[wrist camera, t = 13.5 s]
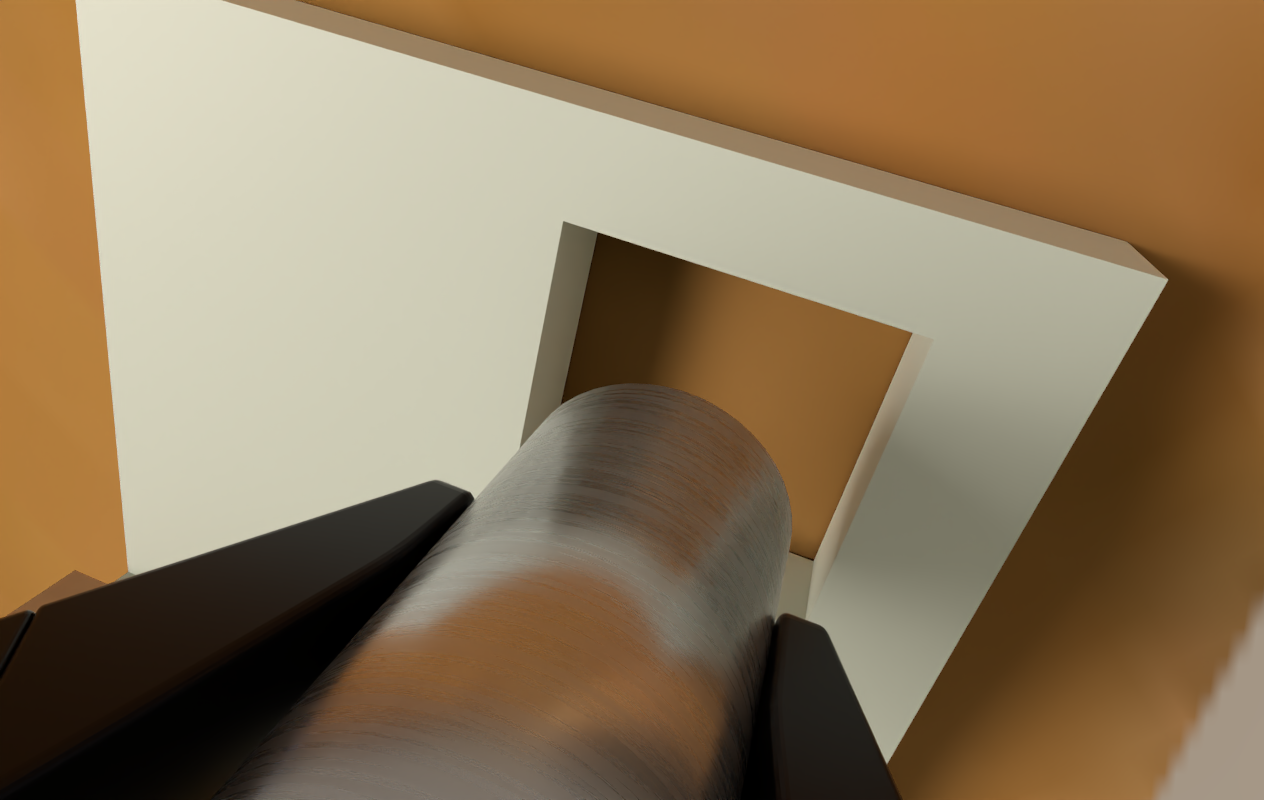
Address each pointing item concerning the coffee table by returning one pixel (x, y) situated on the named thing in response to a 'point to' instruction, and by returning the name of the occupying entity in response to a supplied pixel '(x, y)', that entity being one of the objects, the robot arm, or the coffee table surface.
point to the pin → (564, 627)
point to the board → (544, 299)
